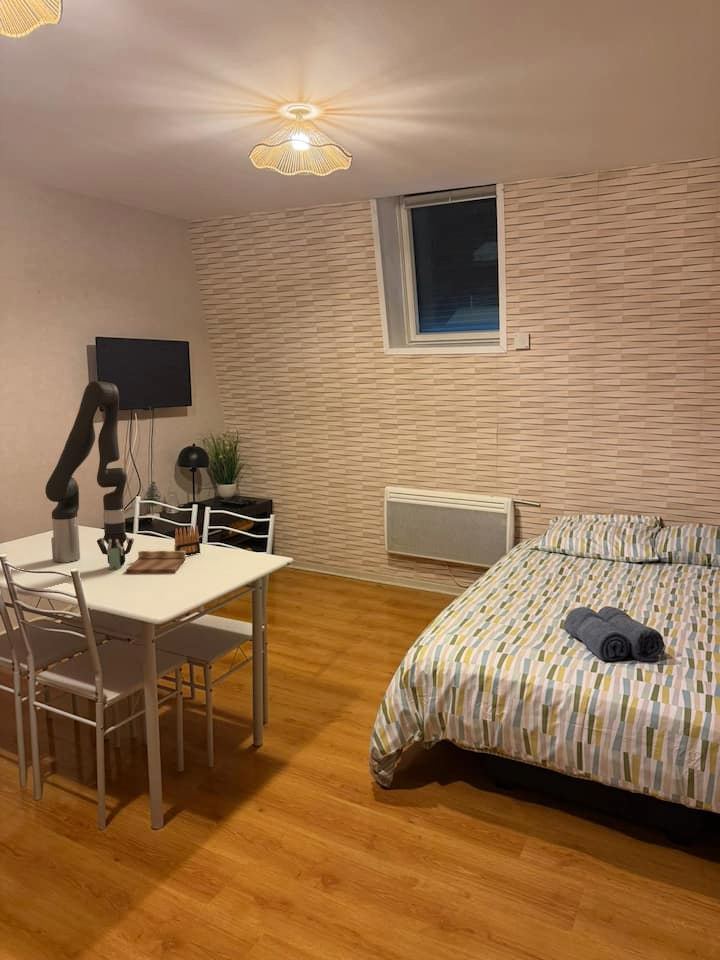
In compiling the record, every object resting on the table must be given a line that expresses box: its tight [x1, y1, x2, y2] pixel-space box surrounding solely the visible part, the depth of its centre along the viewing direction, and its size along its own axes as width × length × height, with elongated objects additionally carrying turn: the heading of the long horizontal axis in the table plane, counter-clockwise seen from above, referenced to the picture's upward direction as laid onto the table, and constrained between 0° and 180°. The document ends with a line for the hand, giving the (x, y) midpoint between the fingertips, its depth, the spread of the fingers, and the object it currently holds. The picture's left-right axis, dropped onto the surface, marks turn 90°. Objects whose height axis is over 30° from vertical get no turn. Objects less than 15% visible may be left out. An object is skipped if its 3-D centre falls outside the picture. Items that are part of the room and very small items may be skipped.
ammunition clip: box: [174, 524, 201, 556], centre depth 273 cm, size 11×2×12 cm, turn 132°
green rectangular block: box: [107, 547, 125, 570], centre depth 256 cm, size 4×7×8 cm, turn 2°
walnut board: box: [125, 550, 186, 574], centre depth 257 cm, size 18×17×4 cm
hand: (116, 564), depth 256 cm, fingers closed on green rectangular block, 3 cm apart
